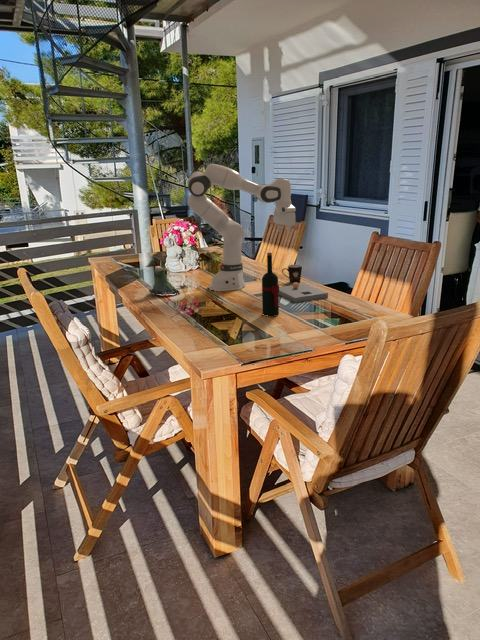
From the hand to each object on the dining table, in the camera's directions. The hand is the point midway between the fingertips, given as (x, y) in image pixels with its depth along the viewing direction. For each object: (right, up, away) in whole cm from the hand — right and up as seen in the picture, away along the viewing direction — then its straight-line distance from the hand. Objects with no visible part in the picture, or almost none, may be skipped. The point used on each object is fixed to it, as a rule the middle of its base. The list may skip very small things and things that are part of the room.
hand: (284, 232), depth 277 cm
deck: (+8, -37, -12) cm, 39 cm away
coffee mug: (+7, -27, +18) cm, 34 cm away
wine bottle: (-10, -48, -45) cm, 67 cm away
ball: (+6, -31, -8) cm, 33 cm away
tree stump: (-68, -35, +3) cm, 77 cm away
